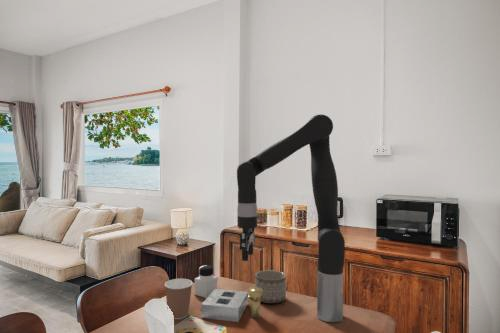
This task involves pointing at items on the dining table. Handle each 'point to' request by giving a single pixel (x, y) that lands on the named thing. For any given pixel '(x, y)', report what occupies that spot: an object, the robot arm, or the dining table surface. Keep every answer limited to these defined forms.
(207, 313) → the jig
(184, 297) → the coffee cup
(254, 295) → the brass knob
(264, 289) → the planter
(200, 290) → the medicine bottle
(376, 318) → the dining table surface
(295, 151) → the robot arm
